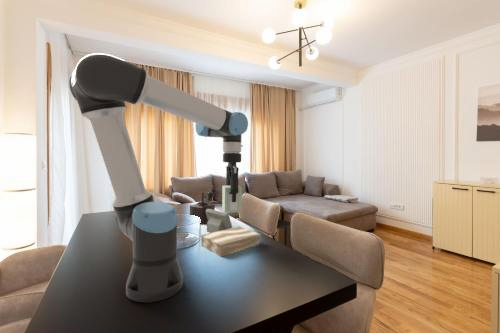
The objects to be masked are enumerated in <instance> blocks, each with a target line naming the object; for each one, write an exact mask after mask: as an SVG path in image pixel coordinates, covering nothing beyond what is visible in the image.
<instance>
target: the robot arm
mask: <svg viewBox="0 0 500 333" xmlns="http://www.w3.org/2000/svg"><path fill="white" fill-rule="evenodd" d="M68 86H69V89H70V93H71V96H72V97H73V98H74V100H75V101H77V104H78V107H79V110H80V113H81V115H82V117H84V118H86V119H88V120H89V121H90V123H91V126H92V129H93V132H94V135H95V138H96V142H97V144H98V148H99V150H100V153H101V156H102V159H103V160H102V161H103V162H104V165H105V169H106V171H107V174H108V177H109V180H110V183H111V186H112V189H113V192H114V195H115V200H114V201H113V203H112V207H113V210H114V214H115V224H116V227H117V229H118V230H119V231H120V232H121V233H122V234H123V235H124V236H126V237H127V238H128V239H129V240H130V241H131V242H132V265H131V268H130V271H129V274H128V276H127V280H126V283H125V296H126V297H127V299H129V300H131V301H133V302H136V303H153V302H154V303H155V302H159V301H163V300H166V299H169V298H171V297H173V296H174V295H176V294H178V293H179V292H180V291H181V290H182V288H183V285H184V275H183V272H182V269H181V266H180V263H179V260H178V223H179V222H178V220H179V218H178V213H177V209H176V207H175V206H173V205H172V204H171V203H166V202H162V201H155V200H154V196H153V192H152V191H150V190H148V189H146V186H145V184H144V180H143V177H142V174H141V171H140V167H139V164H138V161H137V157H136V155H135V151H134V147H133V145H132V142H131V137H130V135H129V130H128V127H127V124H126V121H125V119H124V118H125V117H124V113H125V112H126V111H127V110H126V109H127V105H126V103H130V104H132V105H137V104H142V105H145V106H148V107H151V108H154V109H157V110H159V111H162V112H165V113H167V114H170V115H173V116H176V117H179V118H181V119H184V120H188V121H189V122H192V123H195V132H196V134H197V135H198V136H199V137H204V138H222V152H224V153H222V162H223V163H227V166H226V174H225V175H226V177H225V178H226V180H225V186H227V185H230V186H231V192H229V194H230V210H237V193H238V192H239V191H238V185H239V169H240V168H239V167H238V166H237V163H241V162H242V153H241V152H242V147H243V146H244V145H243V144H242V135H243V134H245V133H246V132H247V131H248V127H249V121H248V118H247V115H246V114H244V113H243V112H239V111H234V112H231V111H228V110H226V109H224V108H222V107H219V106H217V105H215V104H213V103H210V102H209V101H206V100H204V99H202V98H199V97H197V96H195V95H193V94H191V93H189V92H186V91H184V90H181V89H180V88H177V87H175V86H173V85H170V84H168V83H166V82H165V81H162V80H159V79H158V78H155V77H153V76H151V75H149V72H148V71H147V70H146V69H145V68H142V67H141V66H139V65H136V64H134V63H131V62H129V61H127V60H124V59H122V58H120V57H117V56H114V55H111V54H108V53H101V52H100V53H99V52H97V53H90V54H87V55H85V56H84V57H82V58H80V60H79V61H78V62H77V64H76V66H75V69H74V70H73V71H72V73H71V74H70V78H69V85H68Z"/></svg>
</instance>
